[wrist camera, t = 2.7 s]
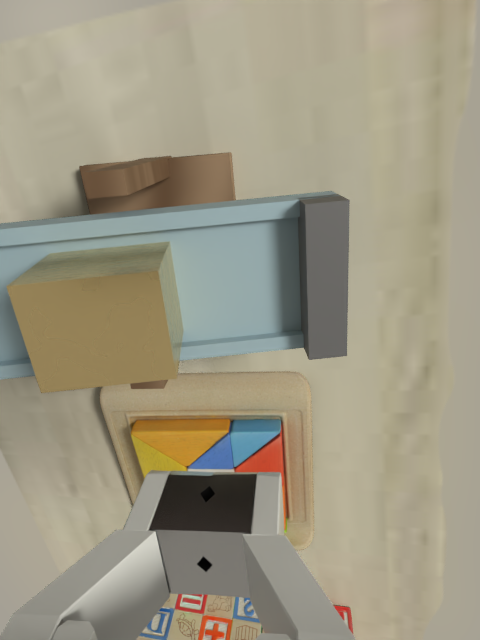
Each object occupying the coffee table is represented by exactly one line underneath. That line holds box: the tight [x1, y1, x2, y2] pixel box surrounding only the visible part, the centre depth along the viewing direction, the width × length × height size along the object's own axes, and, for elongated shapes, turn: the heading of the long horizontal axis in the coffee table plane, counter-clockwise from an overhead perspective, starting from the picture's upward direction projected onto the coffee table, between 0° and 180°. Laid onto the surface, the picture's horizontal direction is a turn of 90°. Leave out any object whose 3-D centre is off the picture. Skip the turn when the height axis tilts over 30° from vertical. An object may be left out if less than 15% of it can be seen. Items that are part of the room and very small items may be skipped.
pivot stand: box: [79, 152, 236, 389], centre depth 27 cm, size 10×12×9 cm
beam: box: [0, 191, 349, 379], centre depth 22 cm, size 22×8×3 cm, turn 95°
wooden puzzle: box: [100, 372, 314, 550], centre depth 38 cm, size 18×19×4 cm
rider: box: [6, 241, 184, 393], centre depth 20 cm, size 6×5×5 cm
